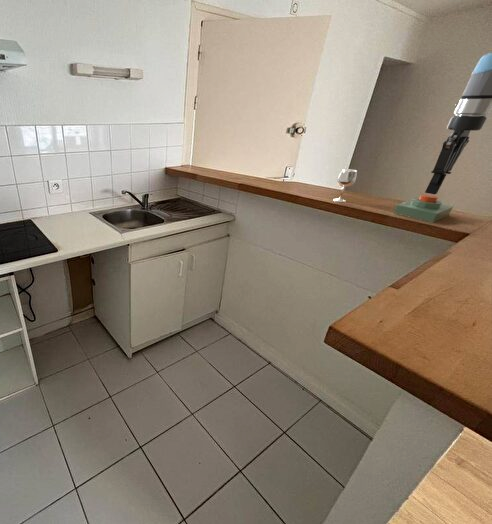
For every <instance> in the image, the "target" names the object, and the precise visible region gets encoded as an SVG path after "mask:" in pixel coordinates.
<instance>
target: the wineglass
mask: <svg viewBox="0 0 492 524" xmlns="http://www.w3.org/2000/svg"><path fill="white" fill-rule="evenodd" d="M357 175H358V170H356V169H350V168H344V169H342V170H341V172H340V173H339V175H338V177H337V184H338V185H339V186H340V187H342V188H341V193H340V196H339V197H338V198H333V201H334V202H337V203H346V202H347V201H346V200H345V199H344V198H343V199H342V196H343V193H344V192H345V191H346V188H348V187H349V188H350V187H352V186H353V185H354V184H355V183H356V179H357Z"/></svg>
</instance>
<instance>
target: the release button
mask: <svg viewBox="0 0 492 524" xmlns="http://www.w3.org/2000/svg"><path fill="white" fill-rule="evenodd" d="M418 198H419V200H420V201H423V202H429V203H436V201H438V199H439V196H438V195H435V194H429V193H425V194H424V193H423V194H420V196H419V197H418Z"/></svg>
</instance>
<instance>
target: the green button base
mask: <svg viewBox="0 0 492 524" xmlns="http://www.w3.org/2000/svg"><path fill="white" fill-rule="evenodd" d="M419 198H420V197H413V198H412V199H410V200H406V201H404V202H401V203H398V204H396V206H395V207H394V210H393V212H392V214H394V213H397V214H396V215H398V214H402V215H406V216H410V217H414V218H417V219H416V220H419V219H421V220H420V221H423V220H425V221H424V222H427V221H429V222H428V223H431V222H433V223H435V222H437V221H440V220H442V219H444V218H446V217H448V216H449V215H450V213H451V212H452V210H453V208H454V206H452V205H448V204H447V205H446V204H443V202H442V201H441V200H437V201H436V203H429V202H423V201H420V200H419ZM402 215H401V216H402ZM406 216H405V217H406ZM410 217H409V218H410ZM414 218H413V219H414Z"/></svg>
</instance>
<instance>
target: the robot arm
mask: <svg viewBox="0 0 492 524" xmlns="http://www.w3.org/2000/svg"><path fill="white" fill-rule="evenodd" d="M454 107H456V108H455V109H454V111H453V114H454V115H453V116H452V117H450V120H449V122H448V124H447V126H446V129H447V130H451V131H453V132H452V133H451V134H450V136H448V137H447V139H446V140H444V142H442V147H441V150H440V152H439V155H438V157H437V160H436V163H435V165H434V168H433V170H431V172H430V173H431V174H433V175H432V177H431V178H430V181H429V183H428V185H427V187H426V189H425V191H424V193H425V194H429V195H437V194H438V192H439V190H440V189H441V186H442V184H443V183H444V180H445V178H446V176H447V175H451V174H452V170H453V167H454V166H455V164H456V162H457V161H458V159H459V158H460V156H461V154H462V152H463V151H464V150H465V147H466V146H467V145H468V144H469V142H470V133H471V132H472V131H473V132H474V131H475V132H476V131H480V130H481V129H482V128H483V126H484V124H485V123H486V120H487V119H488V118H487V115H489V114H491V112H492V52H489V53H488V52H487V53H486V54H484V55H483V56H481V58H479V60H478V61H477V64H476V66H475V67H474V69H473V71H472V72H471V76H470V77H469V80H468V82H467V84H466V86H465V89H464V91H463V93H462V95H461V97H460V99H459V102H456V103H455V104H454Z"/></svg>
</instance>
